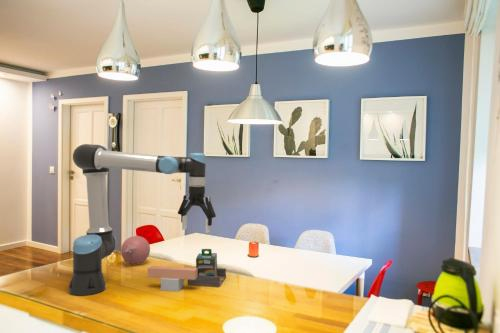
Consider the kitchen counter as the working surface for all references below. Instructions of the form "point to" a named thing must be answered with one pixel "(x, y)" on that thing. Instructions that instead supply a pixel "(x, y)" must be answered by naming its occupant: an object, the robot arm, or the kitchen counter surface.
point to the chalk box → (207, 263)
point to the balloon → (135, 250)
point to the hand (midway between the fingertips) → (196, 231)
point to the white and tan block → (171, 284)
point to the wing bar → (173, 272)
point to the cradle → (209, 279)
